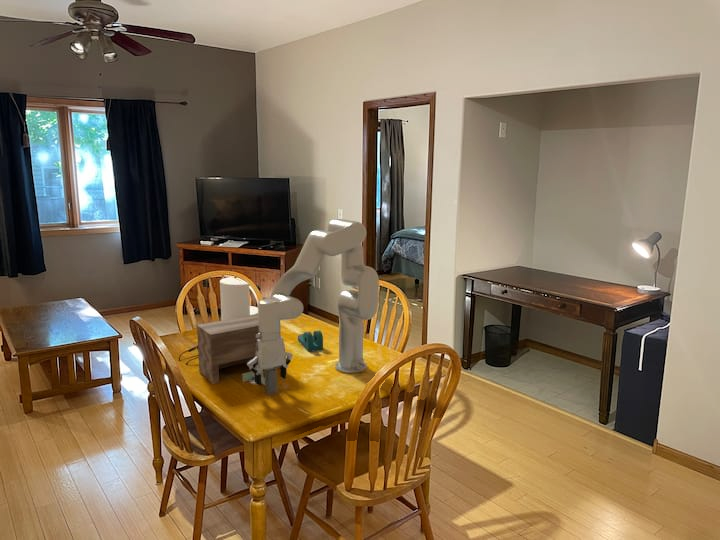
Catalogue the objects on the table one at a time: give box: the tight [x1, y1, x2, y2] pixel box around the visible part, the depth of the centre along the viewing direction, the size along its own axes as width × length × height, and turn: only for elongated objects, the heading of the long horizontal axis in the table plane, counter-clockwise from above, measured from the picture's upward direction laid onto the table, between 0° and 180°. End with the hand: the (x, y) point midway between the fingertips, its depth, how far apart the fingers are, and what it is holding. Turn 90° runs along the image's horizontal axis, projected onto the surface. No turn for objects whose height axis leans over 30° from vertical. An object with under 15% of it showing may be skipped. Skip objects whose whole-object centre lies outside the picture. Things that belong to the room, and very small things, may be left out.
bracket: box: [297, 330, 324, 353], centre depth 241 cm, size 18×7×8 cm, turn 24°
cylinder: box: [219, 276, 258, 321], centre depth 243 cm, size 17×17×28 cm
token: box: [249, 377, 257, 385], centre depth 201 cm, size 5×5×1 cm
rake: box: [241, 367, 278, 396], centre depth 197 cm, size 17×8×9 cm, turn 36°
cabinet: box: [196, 314, 280, 385], centre depth 210 cm, size 14×28×19 cm, turn 126°
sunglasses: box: [178, 345, 199, 365], centre depth 223 cm, size 11×12×5 cm
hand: (270, 380), depth 191 cm, fingers open, 9 cm apart
